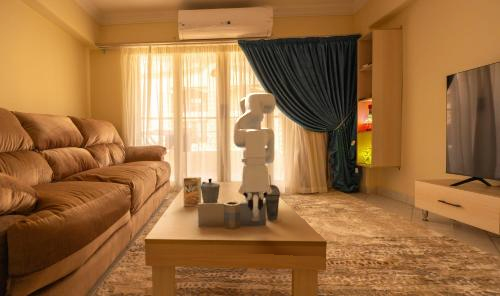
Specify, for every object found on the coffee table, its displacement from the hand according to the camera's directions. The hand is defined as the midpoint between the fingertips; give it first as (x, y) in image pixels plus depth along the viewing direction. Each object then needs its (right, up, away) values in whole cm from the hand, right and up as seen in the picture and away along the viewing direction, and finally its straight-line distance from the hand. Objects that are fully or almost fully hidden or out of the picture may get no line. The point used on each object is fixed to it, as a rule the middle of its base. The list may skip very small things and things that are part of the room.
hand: (255, 208), depth 104 cm
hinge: (-10, -9, +8) cm, 16 cm away
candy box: (-34, -8, +44) cm, 56 cm away
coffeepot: (-21, -9, +23) cm, 32 cm away
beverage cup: (+8, -9, +18) cm, 21 cm away
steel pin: (0, -4, 0) cm, 4 cm away
